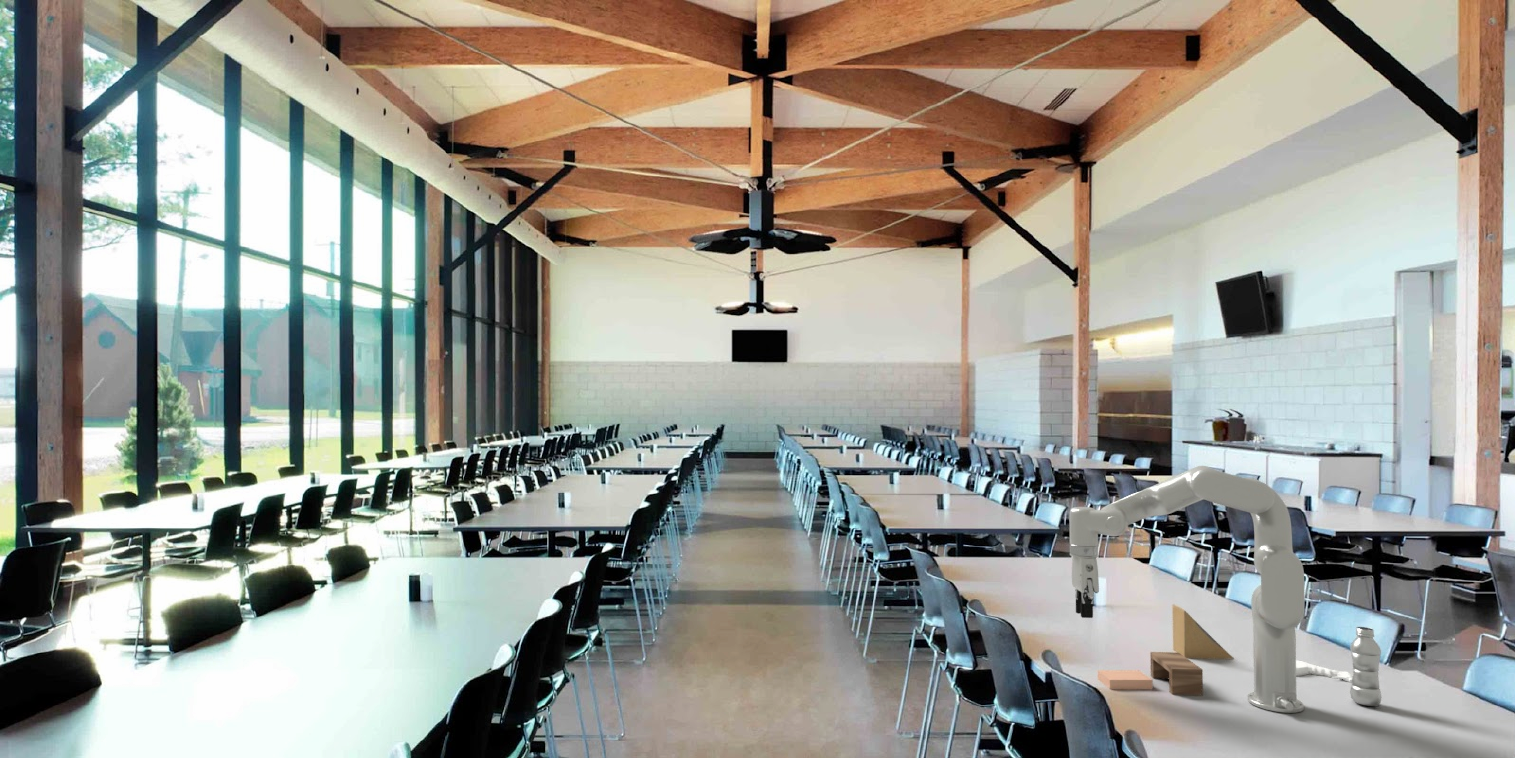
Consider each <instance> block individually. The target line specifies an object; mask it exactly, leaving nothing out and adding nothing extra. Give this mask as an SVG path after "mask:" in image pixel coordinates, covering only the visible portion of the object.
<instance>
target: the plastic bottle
mask: <svg viewBox="0 0 1515 758" xmlns="http://www.w3.org/2000/svg"><path fill="white" fill-rule="evenodd" d="M1355 629H1356V630H1355V631H1356V632H1355V635H1356V638H1354V640H1352V642H1350V646H1349V647H1350V654H1351V660H1352V676H1353V678H1352V683H1351V685H1350V691H1349V693H1350V698H1351V700H1352V701H1353V702H1354V703H1356V704H1359V705H1362V706H1368V707H1377V706H1379V705H1380V704H1381V701H1382V693H1381V692H1382V691H1381V689H1380V681H1379V679H1380V678H1379V670H1380V660H1381V655H1382V650H1381V647H1380V646H1379V644H1378V642H1376V640H1375V639H1374V638H1375V631H1374V628H1371V627H1367V626H1356V628H1355Z"/></svg>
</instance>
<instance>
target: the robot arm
mask: <svg viewBox="0 0 1515 758" xmlns="http://www.w3.org/2000/svg"><path fill="white" fill-rule="evenodd" d="M1202 500H1205V501H1208V502H1210V503H1214V504H1217V505H1221V506H1224V507H1228V508H1231V509H1236V510H1239V511H1242V512H1246V513H1250V515H1251V518H1252V522H1253V531H1254V532H1253V534H1254V540H1253V541H1254V550H1253V551H1254V552H1253V553H1254V554H1253V564H1254V567H1255V569H1256V571H1257V572H1258V573H1259V575H1260V585H1258V586H1257V587H1256V588H1255V589H1254V591H1253V592H1252V594H1251V595H1252V596H1251V599H1250V600H1251V601H1250V603H1251V604H1250V606H1251V617H1252V625H1253V627H1252V628H1253V629H1252V630H1253V692H1250V693H1248V695H1247V696H1246V697H1247V701H1248V702H1249V703H1250V704H1252V705H1253V706H1255V707H1258V708H1260V709H1264V710H1267V711H1271V712H1276V713H1277V712H1278V713H1286V714H1289V713H1291V714H1293V713H1294V714H1295V713H1300V712H1302V711H1303V710H1304V708H1305V705H1304V703H1303V702H1302V701H1301V700H1299V699H1297V676H1296V660H1297V639H1296V638H1297V637H1296V627H1297V626H1299V625H1300V624H1301V622H1302V621H1303V619H1304V616H1305V605H1306V604H1305V572H1304V566H1303V563H1302V561H1301V559H1300V558H1299V557H1298V555H1296V554H1295V553H1294V549H1293V534H1292V533H1293V532H1292V522H1291V517H1290V516H1291V515H1290V513H1289V512H1290V511H1289V508H1288V507H1287V505H1286V503H1285V502H1284V500H1283V498H1282V497H1281V496H1280V495H1279V494H1278V493H1277V492H1276V490H1274V489H1273V488H1271V487H1270V486H1269V485H1268V484H1266V483H1265V482H1263V481H1261V480H1258V479H1257V478H1254V477H1249V476H1248V477H1247V476H1246V477H1242V476H1239V475H1235V474H1231V473H1227V472H1224V471H1220V470H1218V469H1215V468H1213V467H1210V466H1208V465H1199V466H1195V467H1193V468H1190V469H1188V470H1186V471H1183V472H1182V473H1179V474H1177V475H1174V476H1172V477H1170V478H1167V479H1165V480H1164V481H1160V482H1159V483H1157V484H1154V485H1152V486H1149V487H1146V488H1144V489H1142V490H1141V491H1138V492H1135V493H1132V494H1130V495H1128V496H1125V497H1122V498H1121V499H1118V500H1116V501H1114V502H1111V503H1109V504H1107V505H1105V506H1104V507H1102V508H1101V509H1095V508H1093V507H1089V506H1074V507H1071V508H1070V509H1069V556H1070V557H1072V561H1071V583H1072V587H1074V589H1075V613H1076V614H1080V617H1081V618H1082V619H1084V618H1085V619H1092V618H1094V598H1095V594H1098V593H1099V592H1100V583H1099V569H1098V568H1099V567H1098V560H1097V558H1099V535H1103V536H1109V537H1118V536H1121V535H1123V534H1124V533H1125V532H1126V531H1127V529H1128V526H1130V525H1132V524H1134V523H1136V522H1139V521H1141V520H1144V519H1147V518H1150V517H1151V518H1152V517H1156V516H1166V515H1169V514H1172V513H1175V512H1177V511H1179V510H1181V509H1184V508H1187V507H1188V506H1190V505H1193V504H1195V503H1198V502H1200V501H1202Z"/></svg>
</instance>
